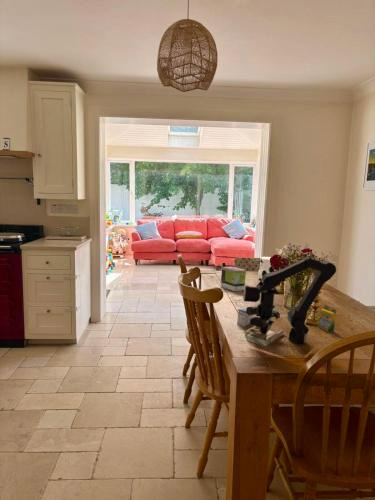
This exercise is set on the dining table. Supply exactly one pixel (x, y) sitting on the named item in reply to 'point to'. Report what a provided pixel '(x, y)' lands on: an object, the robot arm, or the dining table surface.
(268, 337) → the trap tray
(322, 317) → the crayon box
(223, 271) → the tea box
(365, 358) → the dining table surface
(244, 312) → the medicine box
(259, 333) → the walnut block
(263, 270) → the milk container
